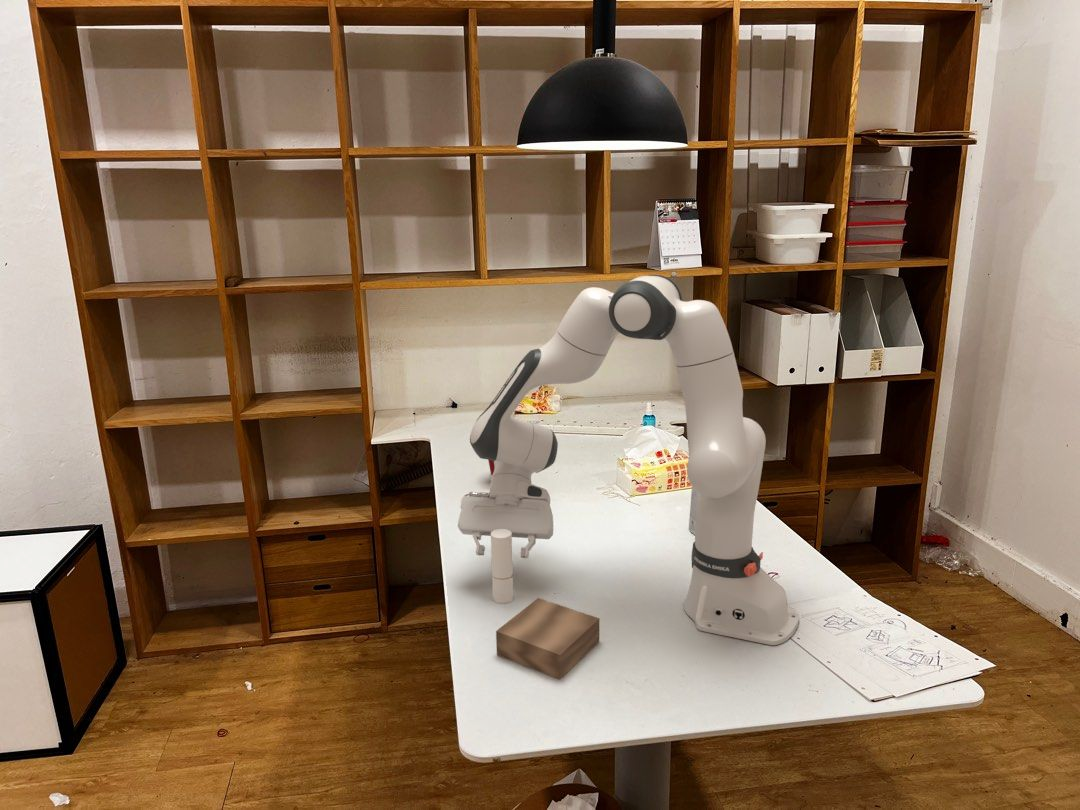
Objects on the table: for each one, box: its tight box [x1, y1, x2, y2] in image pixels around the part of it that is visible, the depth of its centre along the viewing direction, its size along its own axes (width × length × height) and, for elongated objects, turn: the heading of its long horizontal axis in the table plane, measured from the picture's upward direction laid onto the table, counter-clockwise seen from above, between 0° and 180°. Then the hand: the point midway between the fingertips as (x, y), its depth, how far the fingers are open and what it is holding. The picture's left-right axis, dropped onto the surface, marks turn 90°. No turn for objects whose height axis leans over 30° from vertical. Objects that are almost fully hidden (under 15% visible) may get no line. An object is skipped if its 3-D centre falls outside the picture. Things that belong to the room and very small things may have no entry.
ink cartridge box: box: [688, 485, 701, 536], centre depth 194 cm, size 10×6×14 cm, turn 15°
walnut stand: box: [495, 597, 601, 680], centre depth 151 cm, size 14×14×5 cm
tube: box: [490, 529, 514, 604], centre depth 167 cm, size 4×4×15 cm
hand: (501, 556), depth 167 cm, fingers open, 8 cm apart
